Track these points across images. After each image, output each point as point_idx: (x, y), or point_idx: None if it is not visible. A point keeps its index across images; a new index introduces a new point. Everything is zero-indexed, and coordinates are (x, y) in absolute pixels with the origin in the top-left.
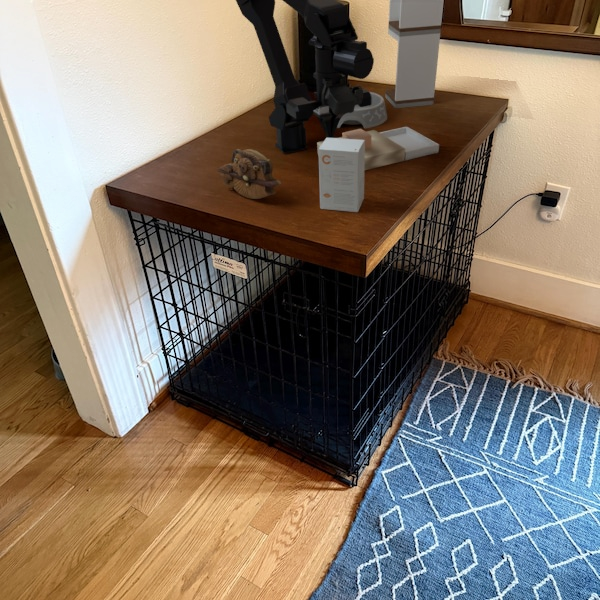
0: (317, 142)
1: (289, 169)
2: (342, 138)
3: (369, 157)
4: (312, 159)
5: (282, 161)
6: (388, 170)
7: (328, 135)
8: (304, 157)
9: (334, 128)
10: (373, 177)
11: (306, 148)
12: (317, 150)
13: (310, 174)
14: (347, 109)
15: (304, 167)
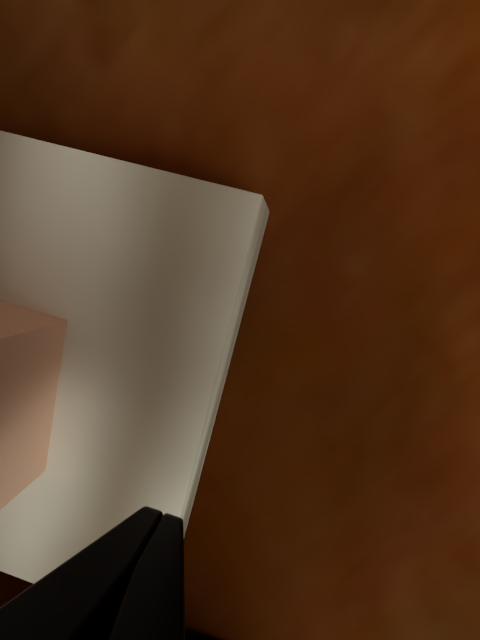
0: None
1: (456, 535)
2: (3, 503)
3: (26, 138)
4: (249, 526)
5: (397, 635)
6: (8, 60)
7: (178, 580)
8: (264, 576)
9: (25, 638)
10: (149, 39)
11: (185, 638)
12: None
13: (419, 388)
14: None
15: (366, 487)
